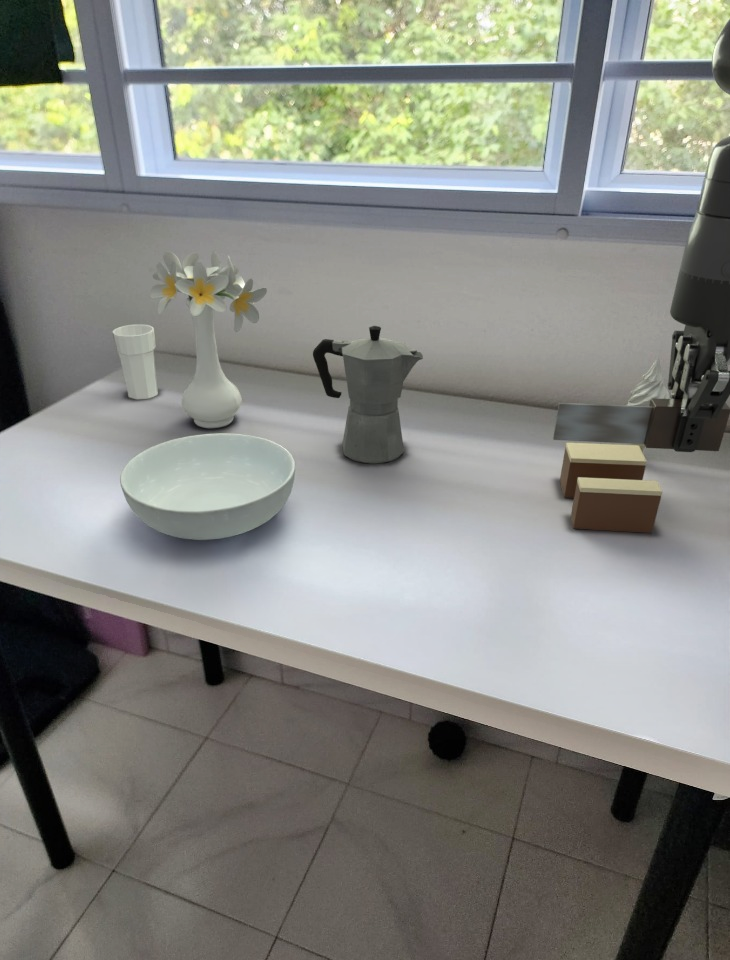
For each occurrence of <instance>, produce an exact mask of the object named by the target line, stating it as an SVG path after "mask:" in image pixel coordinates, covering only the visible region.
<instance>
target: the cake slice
mask: <svg viewBox="0 0 730 960" xmlns="http://www.w3.org/2000/svg"><path fill="white" fill-rule="evenodd" d="M662 496H663V489H662V487H661V485H660V483H659V482H658V480H646V479H645V480H644V479H643V480H627V479H605V478H584V477H578V479H577V485H576V490H575V496H574V498H573V501H572V506H571V513H570V521H571V524H572V528H573V529H575V530H592V531H593V530H594V531H610V532H627V533H646V534H647V533H648V534H652V533H653V531H654V527H655V523H656V519H657V515H658V511H659V507H660V503H661V500H662Z"/></svg>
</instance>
